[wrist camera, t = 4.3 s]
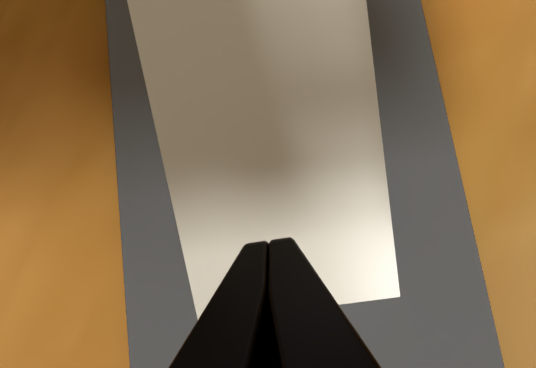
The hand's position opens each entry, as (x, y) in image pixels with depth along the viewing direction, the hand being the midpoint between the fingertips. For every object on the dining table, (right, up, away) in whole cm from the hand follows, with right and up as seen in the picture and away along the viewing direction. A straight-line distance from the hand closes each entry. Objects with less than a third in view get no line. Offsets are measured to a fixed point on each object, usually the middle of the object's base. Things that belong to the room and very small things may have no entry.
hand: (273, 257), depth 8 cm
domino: (+1, -2, +6) cm, 6 cm away
